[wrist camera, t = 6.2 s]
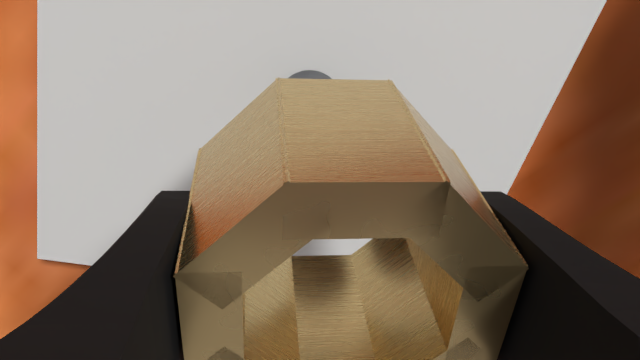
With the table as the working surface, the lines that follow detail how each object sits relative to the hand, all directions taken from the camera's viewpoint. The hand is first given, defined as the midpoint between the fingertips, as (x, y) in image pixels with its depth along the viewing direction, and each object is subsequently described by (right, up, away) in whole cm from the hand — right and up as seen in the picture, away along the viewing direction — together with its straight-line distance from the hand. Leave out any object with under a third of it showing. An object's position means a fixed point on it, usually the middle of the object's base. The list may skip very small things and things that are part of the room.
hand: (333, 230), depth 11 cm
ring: (0, +1, +1) cm, 1 cm away
